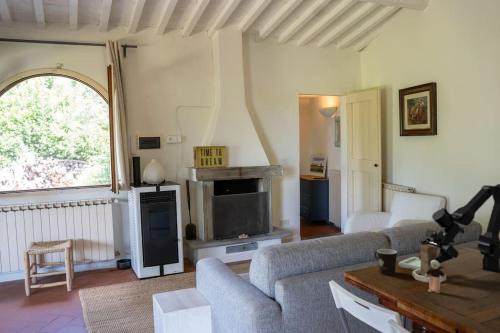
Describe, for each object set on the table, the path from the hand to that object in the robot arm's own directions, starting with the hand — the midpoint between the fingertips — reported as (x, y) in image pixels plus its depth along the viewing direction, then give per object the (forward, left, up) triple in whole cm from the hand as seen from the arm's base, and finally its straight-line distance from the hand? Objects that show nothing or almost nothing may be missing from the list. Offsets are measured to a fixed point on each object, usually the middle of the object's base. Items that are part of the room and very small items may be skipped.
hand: (426, 261), depth 174 cm
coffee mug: (+17, +5, -7) cm, 19 cm away
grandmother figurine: (-10, +13, -7) cm, 18 cm away
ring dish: (0, -1, -7) cm, 7 cm away
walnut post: (0, -1, -7) cm, 7 cm away
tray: (+11, -13, -7) cm, 18 cm away
